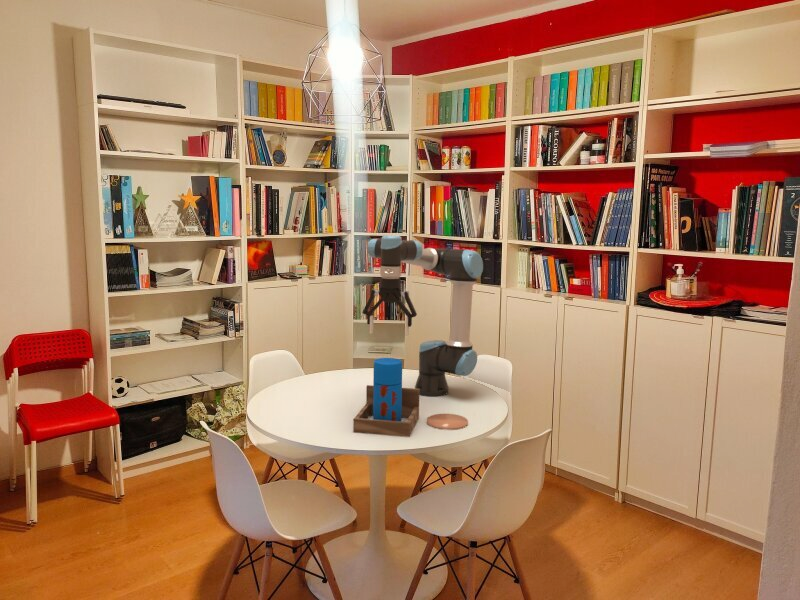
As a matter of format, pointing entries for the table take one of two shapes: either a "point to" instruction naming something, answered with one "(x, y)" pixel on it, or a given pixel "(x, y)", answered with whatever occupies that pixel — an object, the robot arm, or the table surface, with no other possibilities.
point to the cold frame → (384, 426)
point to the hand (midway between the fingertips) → (389, 334)
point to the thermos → (387, 389)
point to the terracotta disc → (447, 421)
